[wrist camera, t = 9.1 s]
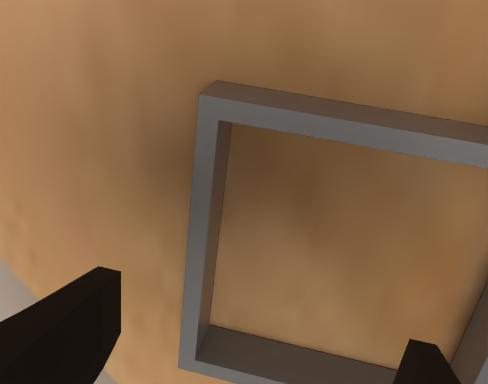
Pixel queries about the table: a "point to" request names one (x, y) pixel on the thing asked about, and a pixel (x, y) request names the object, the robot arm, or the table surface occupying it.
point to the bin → (209, 216)
